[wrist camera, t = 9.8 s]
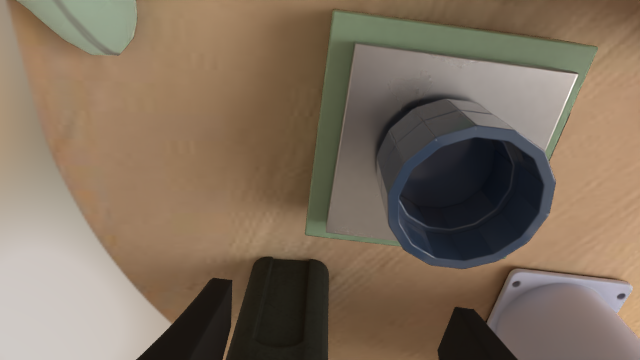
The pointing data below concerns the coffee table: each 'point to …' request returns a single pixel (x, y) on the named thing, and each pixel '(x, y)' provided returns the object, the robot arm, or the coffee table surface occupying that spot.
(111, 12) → the robot head
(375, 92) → the pan
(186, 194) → the coffee table surface
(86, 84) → the coffee table surface
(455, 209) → the bowl
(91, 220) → the coffee table surface
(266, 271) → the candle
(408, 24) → the scale
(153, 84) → the coffee table surface
